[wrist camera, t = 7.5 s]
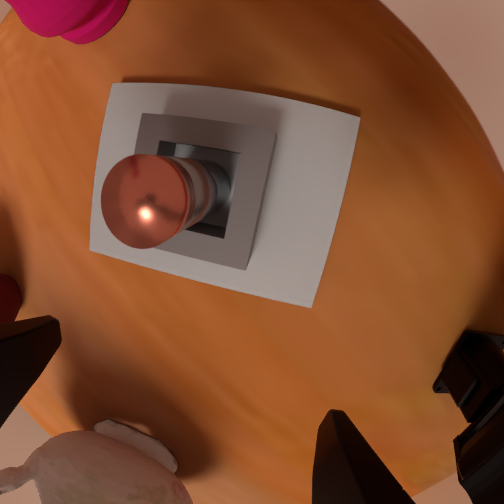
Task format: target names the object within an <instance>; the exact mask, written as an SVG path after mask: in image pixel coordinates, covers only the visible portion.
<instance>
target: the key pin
mask: <svg viewBox="0 0 504 504" xmlns="http://www.w3.org/2000/svg"><path fill="white" fill-rule="evenodd" d="M230 193H231V182H230V178H229V175H228V174H227V172H226V171H225V169H224V168H223V167H222V166H220V165H219V164H217V163H216V162H213V161H209V160H200V159H191V158H182V157H172V156H160V155H148V154H135V155H131V156H128V157H126V158H124V159H122V160H120V161H119V162H118V163H116V164H115V165H114V166H113V167H112V169H111V170H110V171H109V173H108V174H107V176H106V178H105V181H104V183H103V186H102V191H101V210H102V214H103V218H104V220H105V223H106V225H107V227H108V229H109V230H110V231H111V233H112V234H113V235H114V236H115V237H116V238H117V239H118V240H119V241H120V242H122V243H123V244H125V245H127V246H129V247H132V248H137V249H149V248H153V247H156V246H158V245H160V244H162V243H163V242H165V241H167V240H168V239H170V238H172V237H173V236H175V235H177V234H178V233H180V232H182V231H183V230H185V229H187V228H188V227H190V226H192V225H193V224H195V223H197V222H199V221H200V220H202V219H204V218H206V217H207V216H209V215H211V214H212V213H214V212H216V211H218V210H219V209H221V208H222V207H223V206H224V205H225V204H226V202H227V201H228V199H229V196H230Z"/></svg>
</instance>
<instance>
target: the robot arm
mask: <svg viewBox="0 0 504 504" xmlns="http://www.w3.org/2000/svg"><path fill="white" fill-rule="evenodd" d="M467 336H468V337H467ZM61 341H62V337H61V330H60V323H59V321H58V320H57V319H56V318H54V317H52V316H50V315H47V316H41V317H36V318H31V319H25V320H20V321H14V322H8V323H3V324H0V428H1V426H2V425H3V424H4V422H5V421H6V420H7V418H8V417H9V415H10V414H11V413H12V411H13V410H14V409H15V407H16V406H17V405H18V403H19V402H20V401H21V399H22V398H23V397H24V395H25V394H26V393H27V392H28V390H29V389H30V388H31V386H32V385H33V384H34V383H35V381H36V380H37V379H38V378H39V376H40V375H41V373H42V372H43V370H44V369H45V367H46V366H47V364H48V363H49V361H50V360H51V358H52V357H53V355H54V354H55V352H56V351H57V349H58V348H59V346H60V344H61ZM503 349H504V335H499V334H493V333H486V332H480V331H474V330H466V331H465V332H464V333H463V335H462V337H461V339H460V341H459V343H458V345H457V347H456V348H455V350H454V352H453V354H452V356H451V358H450V359H449V361H448V363H447V365H446V366H445V368H444V370H443V371H442V373H441V375H440V376H439V378H438V379H437V381H436V383H435V384H434V386H433V391H434V392H435V393H450V395H451V397H452V398H453V400H454V402H455V404H456V405H457V407H459V408H460V410H461V412H462V413H463V415H464V417H465V419H466V421H467V423H471V424H470V425H469V426H468V427H467V428H466V429H465V430H464V431H463V432H462V433H461V434H460V435H458V436H457V437H456V438H455V439H454V440H453V443H454V450H455V457H456V465H457V473H458V481H459V483H460V484H461V486H462V487H463V488H464V489H465V490H466V492H467V493H468V495H469V497H470V499H471V501H472V503H473V504H504V352H503V351H502V350H503ZM312 504H415V502H414V501H413V500H412V499H411V498H410V496H409V495H408V494H407V493H406V491H405V490H403V488H402V486H401V485H400V484H399V483H398V481H397V480H396V479H395V477H394V476H393V475H392V474H391V472H390V471H389V470H388V468H387V467H386V466H385V465H384V463H383V462H382V461H381V459H380V458H379V457H378V456H377V454H376V453H375V452H374V450H373V449H372V448H371V446H370V445H369V444H368V442H367V441H366V440H365V439H364V437H363V436H362V435H361V433H360V432H359V431H358V429H357V428H356V427H355V425H354V424H353V423H352V421H351V420H350V419H349V417H348V416H347V415H346V413H345V412H344V411H342V410H335V409H331V410H329V411H328V413H327V415H326V416H325V418H324V419H323V421H322V423H321V424H320V426H319V429H318V434H317V442H316V450H315V458H314V465H313V476H312Z"/></svg>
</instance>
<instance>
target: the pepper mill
mask: <svg viewBox="0 0 504 504" xmlns="http://www.w3.org/2000/svg"><path fill="white" fill-rule="evenodd" d="M5 1H6V2H8V3H9V4H10V5H11V6H12V8H13V9H14V10H15V12H16V13H17V15H18V16H19V18H20V20H21V21H22V23H23V24H24V25H25V26H26V27H27V28H28V29H29V30H30V31H32V32H34V33H36V34H38V35H40V36H42V37H55V36H59V35H60V36H61V37H62V38H64V39H66V40H68V41H71V42H73V43H75V44H86V43H89V42H92V41H94V40H96V39H98V38H100V37H101V36H103V35H104V34H105V33H106V32H108V31H109V30H110V29H111V28H112V27H113V26H114V25H115V24H116V23H117V22H118V21H119V19H120V18H121V16H122V15H123V13H124V11H125V9H126V7H127V4H128V0H5Z"/></svg>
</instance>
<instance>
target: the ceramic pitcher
mask: <svg viewBox="0 0 504 504" xmlns="http://www.w3.org/2000/svg"><path fill="white" fill-rule="evenodd" d="M177 469H178V464H177V462H176V459H175V457H174V456H173V455H172V454H171V453H170V452H169V451H168V450H167V448H166V447H165V446H164V445H163V444H162V443H161V442H160V441H159V440H156V439H153V438H151V437H149V436H146V435H144V434H142V433H140V432H138V431H136V430H133V429H131V428H129V427H127V426H125V425H122V424H119V423H116V422H114V421H111V420H109V419H108V420H105V421H102V422H99V423H97V424H95V425H94V431H87V430H78V431H72V432H66V433H62V434H59V435H57V436H55V437H53V438H50V439H49V440H48V441H47V442H45V443H44V444H43V445H42V446H41V447H39V448H37V449H36V450H35V451H34V452H33V453H32V454H31V455H30V456H29V458H28V459H27V461H26V462H25V463H24V465H22V466H19V467H9V468H6V469H3V470H0V495H1V494H3V493H7V492H9V491H13V490H15V489H17V488H19V487H20V486H22V485H23V484H24V483H26V482H27V481H29V480H31V479H33V481H34V483H35V486H36V488H37V490H38V493H39V496H40V499H41V502H42V504H193V502H192V500H191V497H190V495H189V493H188V492H187V490H186V488H185V486H184V485H183V483H182V482H181V481H180V480H179V479H178V478H177V477H176V476H175V475H174V473H175V472H176V470H177Z"/></svg>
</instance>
